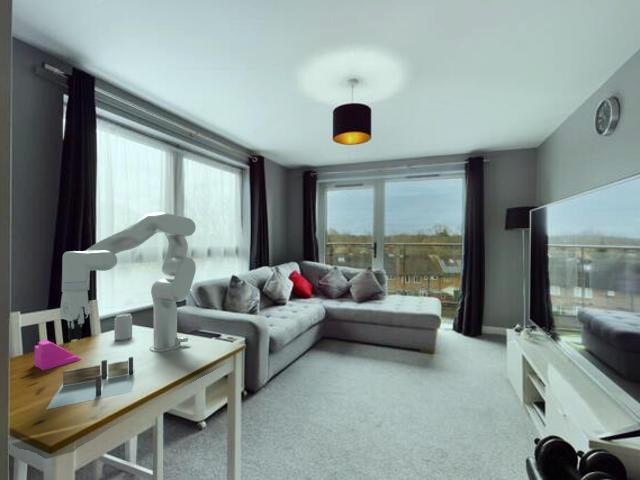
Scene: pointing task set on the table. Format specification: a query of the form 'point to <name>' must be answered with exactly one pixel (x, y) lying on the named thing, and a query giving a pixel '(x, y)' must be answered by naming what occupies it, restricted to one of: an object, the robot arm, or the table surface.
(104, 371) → the fence fixed
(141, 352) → the table surface
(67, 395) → the card
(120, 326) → the can
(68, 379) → the gate
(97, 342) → the table surface
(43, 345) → the magenta wedge-shaped piece
